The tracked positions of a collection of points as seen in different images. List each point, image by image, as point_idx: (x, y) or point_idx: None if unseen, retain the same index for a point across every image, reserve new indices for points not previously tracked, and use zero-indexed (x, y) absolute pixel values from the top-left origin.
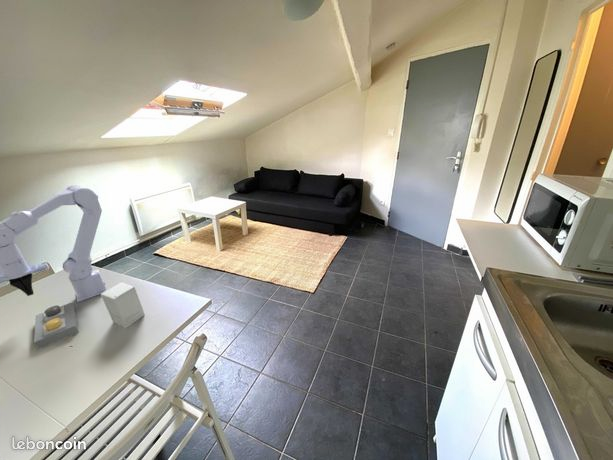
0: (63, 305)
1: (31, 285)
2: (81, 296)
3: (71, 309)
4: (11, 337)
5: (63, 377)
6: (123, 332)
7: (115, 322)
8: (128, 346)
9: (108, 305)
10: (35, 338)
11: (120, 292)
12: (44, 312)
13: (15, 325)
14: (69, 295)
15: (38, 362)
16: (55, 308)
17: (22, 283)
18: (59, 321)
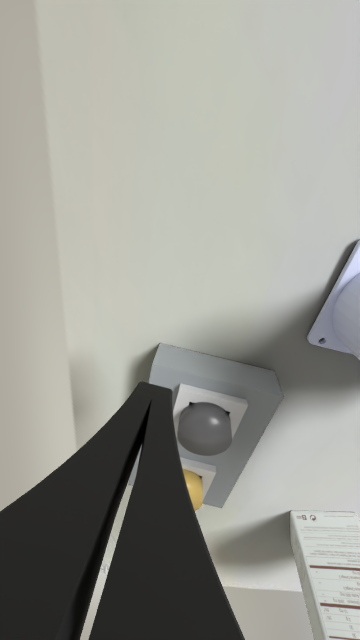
0: (250, 389)
1: (172, 446)
2: (341, 339)
3: (254, 438)
4: (81, 352)
5: None
6: (278, 543)
7: (291, 527)
8: (258, 567)
9: (316, 629)
10: (133, 474)
11: None
12: (177, 433)
13: (90, 283)
14: (327, 222)
15: (130, 488)
16: (215, 441)
17: (89, 598)
18: (196, 509)
